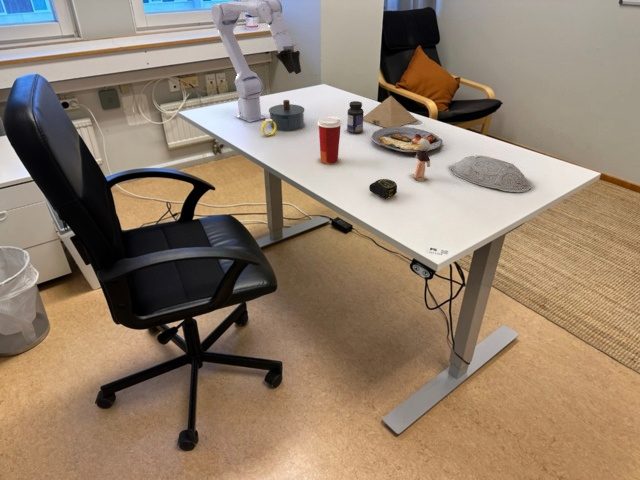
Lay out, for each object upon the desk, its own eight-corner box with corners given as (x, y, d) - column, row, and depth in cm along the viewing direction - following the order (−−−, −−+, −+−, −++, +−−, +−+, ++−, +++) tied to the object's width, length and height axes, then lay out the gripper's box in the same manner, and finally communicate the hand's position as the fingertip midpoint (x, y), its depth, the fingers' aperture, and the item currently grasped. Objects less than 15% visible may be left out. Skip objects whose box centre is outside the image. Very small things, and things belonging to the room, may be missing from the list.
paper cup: (343, 157, 151) (344, 117, 144) (336, 166, 145) (337, 124, 138) (321, 155, 153) (321, 114, 146) (314, 163, 147) (313, 121, 140)
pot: (267, 133, 171) (266, 117, 168) (274, 118, 187) (273, 103, 184) (301, 133, 171) (301, 118, 168) (305, 118, 186) (304, 104, 183)
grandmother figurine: (406, 175, 140) (411, 136, 133) (416, 172, 141) (421, 134, 134) (422, 184, 134) (428, 144, 127) (432, 182, 136) (438, 142, 129)
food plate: (453, 144, 162) (454, 134, 160) (418, 163, 148) (419, 153, 146) (396, 128, 176) (397, 119, 174) (359, 144, 162) (359, 134, 160)
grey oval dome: (517, 196, 126) (523, 173, 123) (440, 174, 142) (444, 153, 139) (539, 185, 136) (545, 163, 133) (465, 165, 152) (469, 145, 149)
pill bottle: (362, 129, 175) (364, 100, 169) (362, 134, 170) (364, 105, 164) (347, 128, 176) (348, 100, 170) (346, 133, 171) (347, 105, 165)
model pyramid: (359, 119, 185) (360, 95, 179) (386, 111, 194) (388, 87, 189) (390, 130, 174) (392, 104, 169) (417, 120, 184) (420, 95, 179)
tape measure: (367, 193, 129) (368, 181, 127) (385, 187, 132) (386, 176, 130) (383, 202, 125) (384, 190, 122) (401, 196, 128) (402, 184, 126)
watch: (264, 137, 167) (263, 122, 164) (260, 135, 169) (259, 120, 166) (278, 134, 170) (277, 119, 167) (274, 132, 172) (273, 117, 169)
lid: (266, 117, 170) (265, 105, 168) (271, 106, 182) (270, 95, 180) (303, 118, 170) (302, 106, 167) (305, 107, 182) (305, 95, 179)
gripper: (283, 27, 149) (299, 67, 152) (296, 32, 163) (310, 68, 166) (265, 36, 152) (281, 75, 155) (280, 40, 165) (294, 76, 168)
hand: (295, 72), depth 160 cm, fingers open, 7 cm apart
